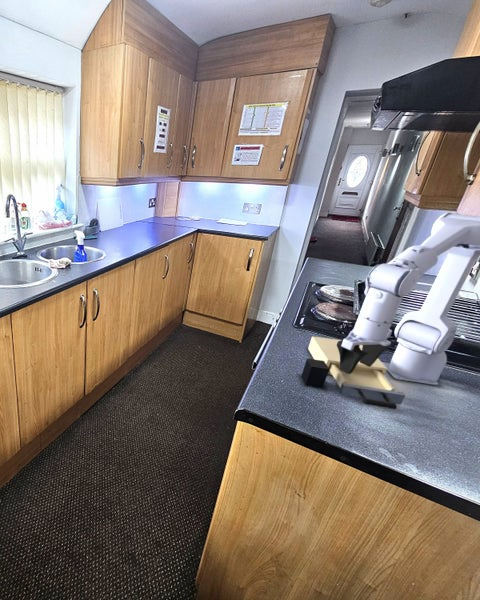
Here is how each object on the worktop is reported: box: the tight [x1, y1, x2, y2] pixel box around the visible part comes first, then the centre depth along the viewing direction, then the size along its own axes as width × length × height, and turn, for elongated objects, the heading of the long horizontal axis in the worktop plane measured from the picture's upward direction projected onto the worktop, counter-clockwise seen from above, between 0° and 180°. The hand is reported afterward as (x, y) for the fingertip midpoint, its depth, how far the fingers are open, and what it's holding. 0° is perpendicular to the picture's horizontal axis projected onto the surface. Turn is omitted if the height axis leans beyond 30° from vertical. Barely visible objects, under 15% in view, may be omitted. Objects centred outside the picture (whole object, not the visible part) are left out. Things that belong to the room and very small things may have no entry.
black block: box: [300, 358, 329, 389], centre depth 87 cm, size 4×4×6 cm
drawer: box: [328, 363, 406, 410], centre depth 84 cm, size 17×12×3 cm
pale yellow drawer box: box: [307, 335, 388, 376], centre depth 95 cm, size 14×14×5 cm
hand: (355, 367), depth 78 cm, fingers open, 7 cm apart
